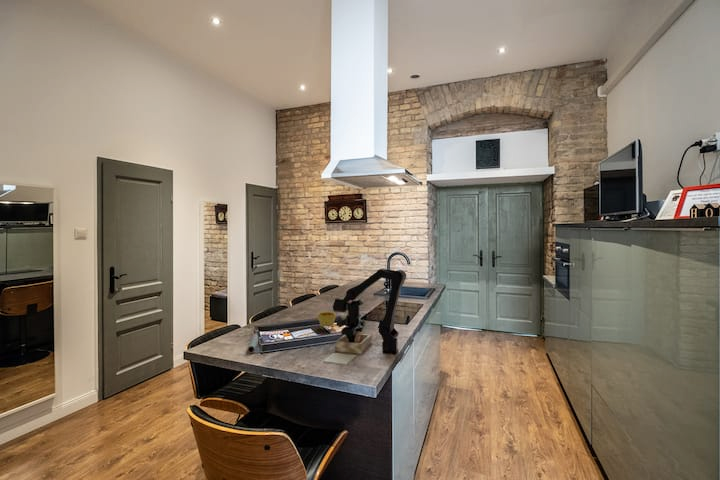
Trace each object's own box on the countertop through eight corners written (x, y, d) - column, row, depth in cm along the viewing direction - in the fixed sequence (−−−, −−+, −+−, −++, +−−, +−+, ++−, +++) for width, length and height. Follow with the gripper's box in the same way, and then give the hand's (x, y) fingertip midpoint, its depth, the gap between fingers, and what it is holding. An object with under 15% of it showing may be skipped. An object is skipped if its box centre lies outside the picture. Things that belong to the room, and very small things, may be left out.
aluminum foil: (253, 339, 185) (253, 333, 185) (265, 338, 186) (265, 332, 186) (247, 353, 162) (247, 346, 162) (261, 352, 164) (261, 345, 164)
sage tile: (355, 356, 155) (355, 355, 155) (346, 365, 145) (346, 363, 145) (333, 354, 159) (333, 352, 159) (323, 362, 149) (323, 360, 149)
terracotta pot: (363, 345, 171) (362, 331, 171) (358, 350, 164) (358, 335, 164) (349, 344, 174) (349, 329, 174) (344, 348, 167) (344, 333, 167)
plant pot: (332, 333, 194) (332, 316, 194) (315, 332, 196) (315, 315, 196) (337, 328, 204) (337, 312, 204) (321, 327, 206) (321, 311, 206)
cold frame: (371, 343, 174) (371, 334, 174) (361, 353, 159) (361, 344, 159) (347, 341, 179) (347, 332, 179) (335, 350, 163) (334, 341, 163)
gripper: (345, 308, 180) (345, 337, 180) (331, 316, 163) (331, 348, 163) (365, 309, 177) (365, 339, 177) (352, 317, 159) (353, 351, 159)
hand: (353, 344), depth 169 cm, fingers closed on terracotta pot, 6 cm apart
